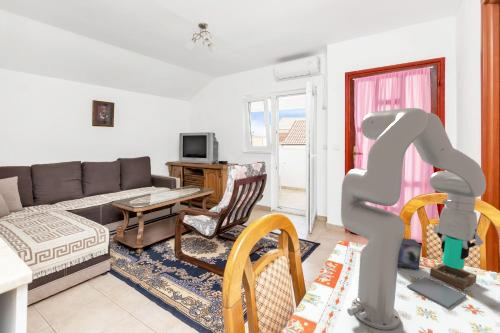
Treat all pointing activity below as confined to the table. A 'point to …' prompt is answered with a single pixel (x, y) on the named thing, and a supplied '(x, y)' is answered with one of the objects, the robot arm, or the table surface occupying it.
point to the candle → (453, 253)
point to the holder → (462, 284)
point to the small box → (409, 254)
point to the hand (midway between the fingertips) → (454, 254)
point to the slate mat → (436, 292)
